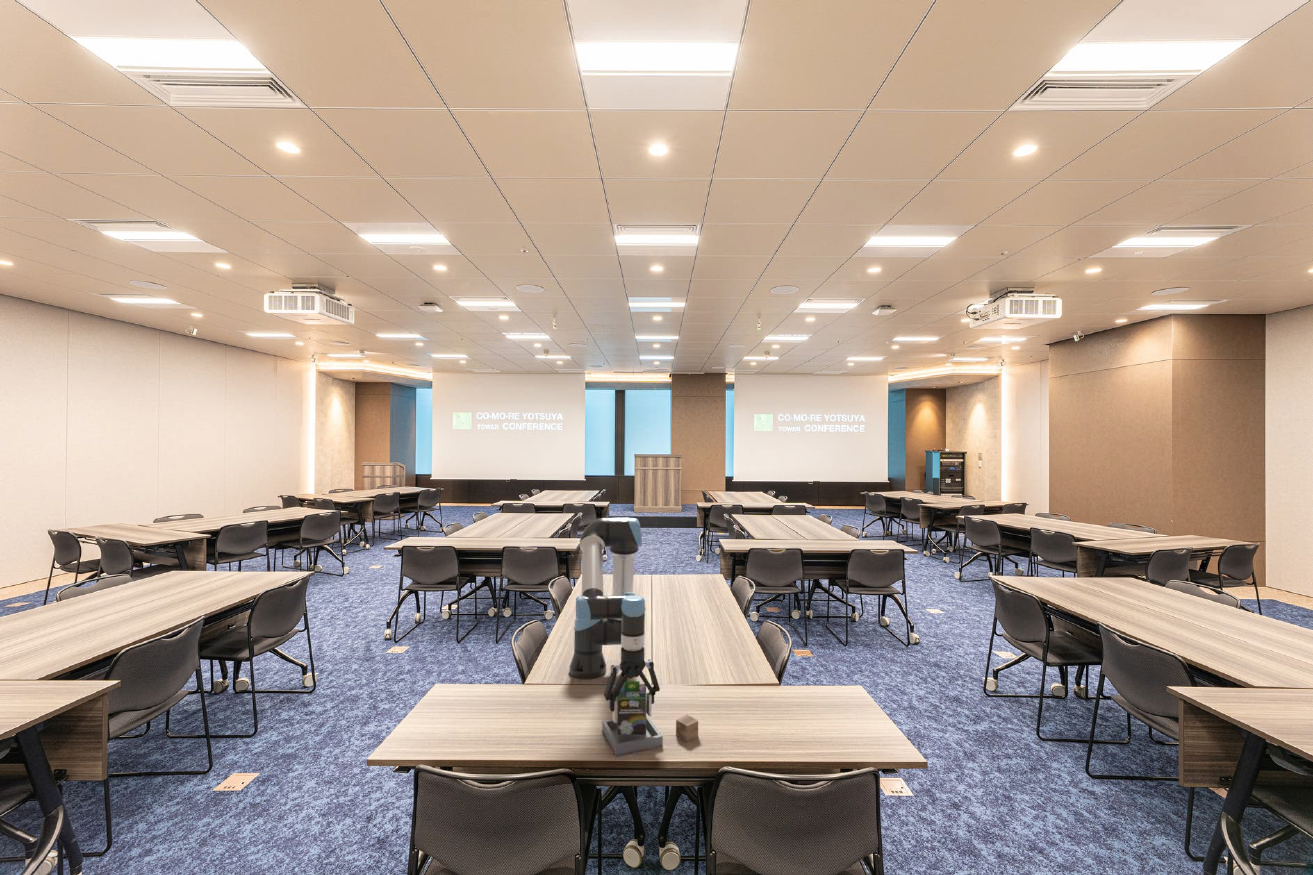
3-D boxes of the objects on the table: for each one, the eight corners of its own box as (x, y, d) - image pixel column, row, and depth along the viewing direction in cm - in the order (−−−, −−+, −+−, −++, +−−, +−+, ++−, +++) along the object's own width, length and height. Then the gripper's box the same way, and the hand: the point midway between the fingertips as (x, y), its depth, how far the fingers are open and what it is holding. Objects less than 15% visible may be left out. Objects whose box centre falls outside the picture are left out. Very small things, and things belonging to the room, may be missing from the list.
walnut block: (675, 735, 158) (676, 719, 158) (686, 730, 161) (687, 714, 161) (687, 742, 154) (687, 725, 154) (698, 736, 157) (698, 720, 157)
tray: (602, 730, 160) (602, 720, 160) (645, 721, 165) (645, 712, 166) (615, 756, 146) (616, 746, 146) (662, 746, 152) (662, 736, 152)
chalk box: (646, 719, 161) (646, 673, 161) (646, 735, 151) (647, 686, 152) (617, 719, 160) (618, 673, 161) (616, 735, 151) (617, 686, 152)
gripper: (600, 656, 149) (599, 730, 148) (670, 646, 158) (670, 716, 157) (594, 647, 156) (593, 718, 155) (661, 638, 165) (661, 705, 164)
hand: (631, 717), depth 156 cm, fingers closed on chalk box, 11 cm apart
